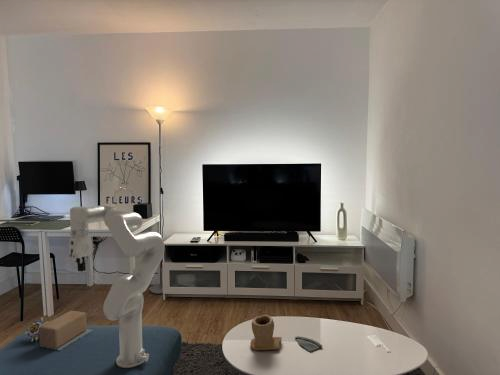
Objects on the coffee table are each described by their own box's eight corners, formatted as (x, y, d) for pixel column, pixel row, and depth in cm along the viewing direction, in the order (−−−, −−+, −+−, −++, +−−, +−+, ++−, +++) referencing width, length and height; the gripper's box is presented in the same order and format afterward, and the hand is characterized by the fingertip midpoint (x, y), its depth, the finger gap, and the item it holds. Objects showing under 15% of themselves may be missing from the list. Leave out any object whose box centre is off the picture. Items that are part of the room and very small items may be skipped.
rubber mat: (93, 330, 178) (93, 330, 178) (59, 351, 158) (59, 349, 158) (75, 327, 182) (75, 326, 182) (40, 346, 162) (40, 345, 162)
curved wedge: (304, 336, 171) (304, 333, 171) (323, 348, 160) (323, 345, 160) (291, 341, 167) (291, 337, 167) (309, 353, 155) (309, 350, 155)
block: (54, 329, 157) (86, 311, 177) (37, 326, 160) (71, 309, 179) (55, 350, 158) (87, 330, 177) (38, 347, 161) (71, 328, 180)
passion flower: (33, 351, 168) (17, 333, 166) (49, 337, 178) (34, 320, 177) (48, 342, 165) (31, 323, 164) (63, 327, 175) (47, 310, 174)
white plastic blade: (380, 353, 155) (380, 351, 155) (365, 337, 170) (365, 335, 170) (390, 352, 156) (390, 350, 156) (375, 336, 171) (375, 334, 171)
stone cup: (250, 354, 154) (249, 322, 154) (250, 341, 166) (250, 311, 165) (283, 354, 154) (283, 322, 153) (281, 341, 166) (281, 311, 165)
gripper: (73, 236, 152) (75, 276, 153) (97, 230, 167) (99, 266, 168) (60, 235, 155) (62, 274, 156) (85, 229, 169) (87, 265, 170)
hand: (81, 270), depth 162 cm, fingers closed
